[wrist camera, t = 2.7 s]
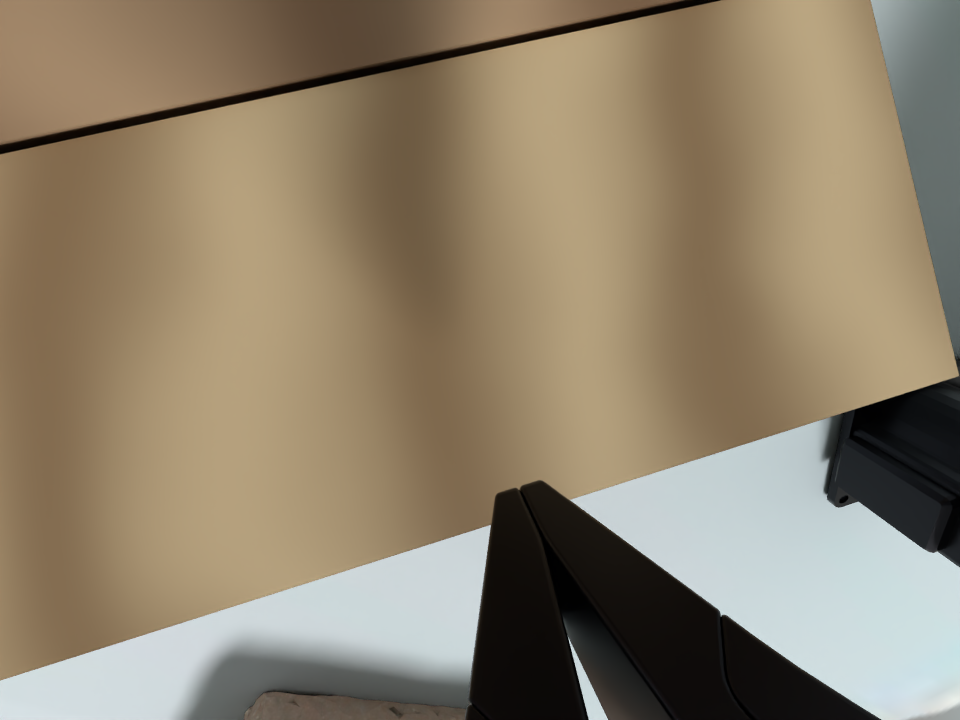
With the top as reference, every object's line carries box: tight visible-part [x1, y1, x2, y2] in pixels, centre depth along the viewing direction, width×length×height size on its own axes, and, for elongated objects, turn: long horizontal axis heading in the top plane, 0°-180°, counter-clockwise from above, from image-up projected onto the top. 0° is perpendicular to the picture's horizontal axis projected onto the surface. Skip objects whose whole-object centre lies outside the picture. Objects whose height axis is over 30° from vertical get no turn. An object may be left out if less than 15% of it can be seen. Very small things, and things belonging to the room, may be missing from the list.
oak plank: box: [0, 0, 959, 680], centre depth 10 cm, size 22×10×2 cm, turn 102°
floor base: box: [0, 0, 721, 154], centre depth 10 cm, size 22×20×2 cm
